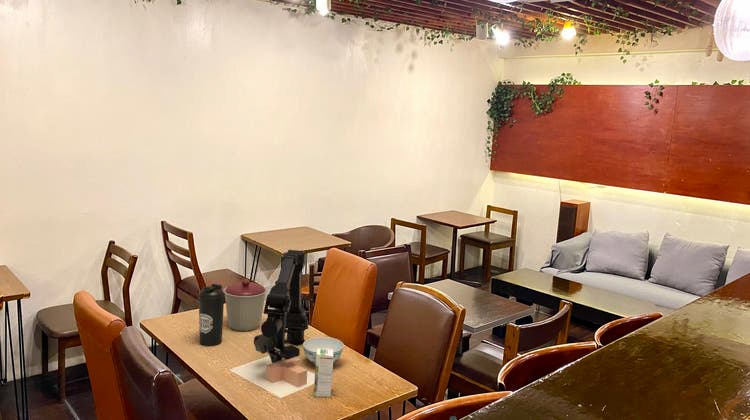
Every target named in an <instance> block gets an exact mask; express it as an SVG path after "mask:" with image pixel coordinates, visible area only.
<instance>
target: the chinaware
mask: <svg viewBox="0 0 750 420" xmlns="http://www.w3.org/2000/svg"><path fill="white" fill-rule="evenodd" d="M344 346H345V345H344V342H342V340H340V339H337V338H334V337H329V336H317V337H316V336H315V337H311V338H308V339H306V340H305V342H304V343H303V344H302V348H303V351H304V355H305V356H306V359H308V361H310V362H311V363H312V364H314V365H316V355H317V349H332V350H334V357H333V364H334V363H335V362H336V361H337V360H338V359H339V358H340V356H342V352H343V350H344Z"/></svg>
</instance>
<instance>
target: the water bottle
mask: <svg viewBox="0 0 750 420" xmlns="http://www.w3.org/2000/svg"><path fill="white" fill-rule="evenodd" d="M222 286H223V285H221V284H217V283H211V285H208V286H202V287H201V290H200V291H199V293H198V294H197V301H198V324H199V330H198V331H199V332H198V333H199V337H198V338H199V345H201V346H203V347H216V346H219V345H221V344H222V341H223V328H224V327H223V323H224V308H225V307H224V306H225V305H224V304H225V301H226V300H225V293H224V292H223V290H224V289H223V287H222Z"/></svg>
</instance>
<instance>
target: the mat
mask: <svg viewBox="0 0 750 420" xmlns="http://www.w3.org/2000/svg"><path fill="white" fill-rule="evenodd" d="M283 359H284V358H283ZM283 359H282V360H283ZM269 364H272V362H271V358H270V356H269V355H267V356H265V357H262V358H259V359H256V360H253V361H250V362H247V363H244V364H242V365H241V364H240V365H239V366H236V367H233V368H230V369H229V372H233V374H236V375H238V376H239V377H240V378H243V379H245V380H247V382H248V381H249V382H251V383H252V384H254V385H256V386H258V387H260V388H262V389H263V390H265V391H267V392H269V393H271V394H272V395H274V396H276V397H277V398H279V399H282V398H285V397H286V396H289V395H292V394H294V393H296V392H299V391H301V390H303V389H305V388H308V387H310V386H313V385H314V380H315V373H314V372H311V371H309V370H307V384H305V385H303V386H300V387H296V386H294V385H292V384H290V383H288V382H286V381H284V380H280V381H277V382H275V383H272V382H270V381H268V380H267V379H266V365H269Z"/></svg>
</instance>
